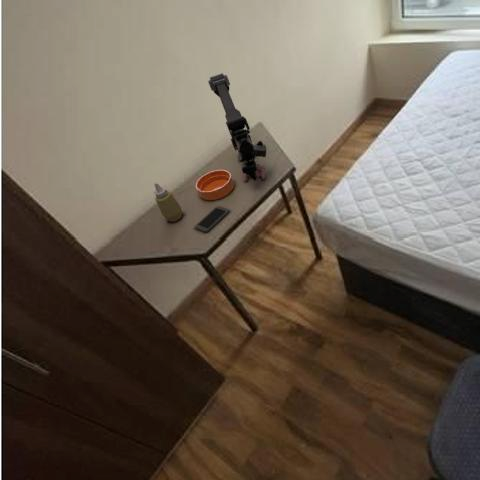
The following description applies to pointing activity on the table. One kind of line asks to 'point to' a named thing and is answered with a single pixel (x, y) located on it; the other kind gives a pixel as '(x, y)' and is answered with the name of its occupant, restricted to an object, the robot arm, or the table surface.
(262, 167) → the video game controller
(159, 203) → the squeeze bottle
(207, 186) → the orange mixing bowl
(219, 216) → the cell phone
